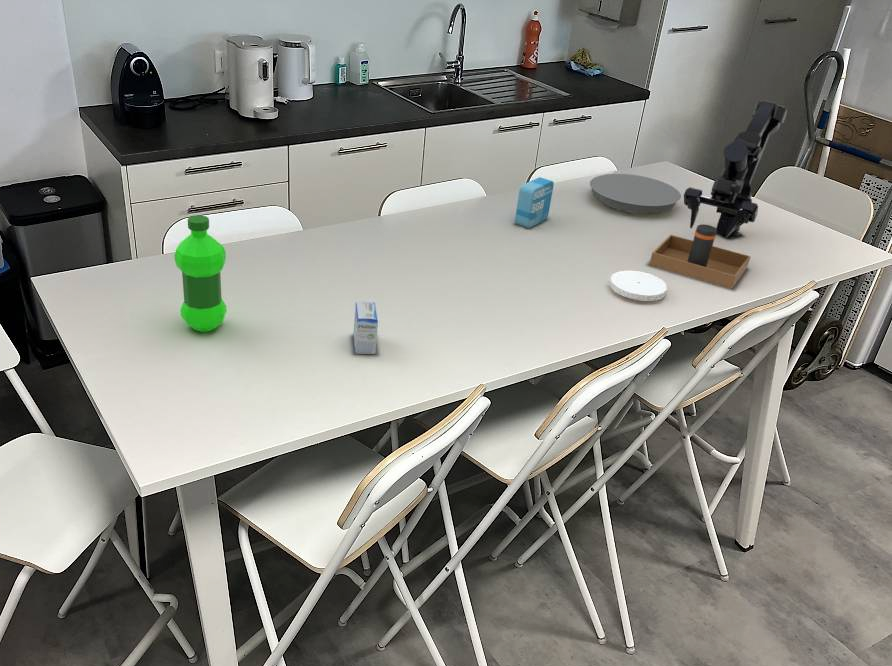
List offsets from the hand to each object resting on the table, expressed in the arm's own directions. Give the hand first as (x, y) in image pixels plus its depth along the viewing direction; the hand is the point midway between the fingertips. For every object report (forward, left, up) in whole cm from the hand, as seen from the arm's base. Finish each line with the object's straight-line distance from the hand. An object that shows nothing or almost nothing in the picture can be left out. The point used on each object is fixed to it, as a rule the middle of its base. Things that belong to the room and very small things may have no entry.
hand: (708, 232), depth 225 cm
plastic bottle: (+131, -24, -10) cm, 134 cm away
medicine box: (+103, -2, -10) cm, 103 cm away
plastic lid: (+27, +4, -10) cm, 29 cm away
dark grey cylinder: (+3, +1, -10) cm, 10 cm away
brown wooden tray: (0, 0, -10) cm, 10 cm away
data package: (+23, -43, -10) cm, 50 cm away
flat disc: (-18, -43, -10) cm, 48 cm away
